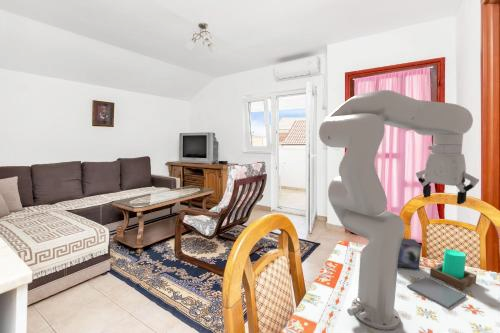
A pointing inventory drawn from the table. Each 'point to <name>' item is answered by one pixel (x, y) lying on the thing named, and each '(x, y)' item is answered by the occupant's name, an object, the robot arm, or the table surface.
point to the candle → (454, 263)
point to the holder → (453, 278)
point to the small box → (409, 254)
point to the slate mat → (436, 292)
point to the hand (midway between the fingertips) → (442, 200)
